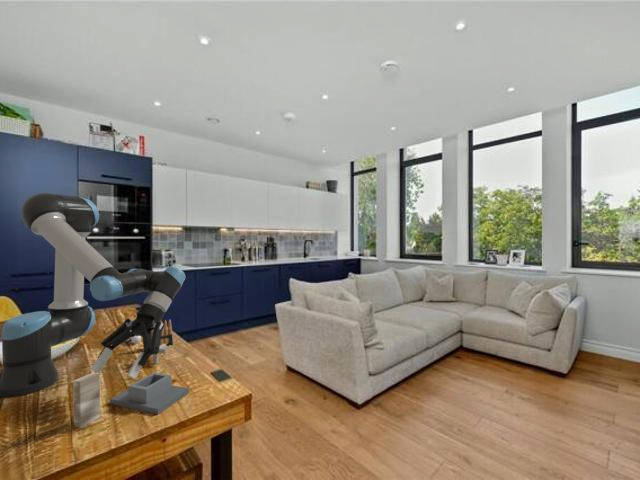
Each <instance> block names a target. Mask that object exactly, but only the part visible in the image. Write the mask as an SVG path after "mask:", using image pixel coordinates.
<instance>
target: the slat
mask: <svg viewBox="0 0 640 480" xmlns="http://www.w3.org/2000/svg"><path fill="white" fill-rule="evenodd" d="M72 384H73V390H72V391H73V392H72V393H73V426H74V427H75V428H78V427H79V428H80V429H82V428H85V426H88V425H89V424H91V423H92V422H94V421H96V420H98V419H99V418H101V395H100V393H101V390H100V384H101V383H100V373H97V372H91V373H89V374H86V375H84V376H81V377H79V378H77V379H75V380H73V381H72Z"/></svg>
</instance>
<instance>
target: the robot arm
mask: <svg viewBox="0 0 640 480" xmlns="http://www.w3.org/2000/svg"><path fill="white" fill-rule="evenodd" d="M20 215H21V216H20V217H21V219H22V221H23V223H24V225H26V227H27V228H28V229H29V230H30V231H31V232H32V233H33V234H35V235H38V236H42V237H43V238H44V240H46V241H47V242H48V243H49V244H50V245H51V246H52V247H53V248H54V249H55V253H54V259H55V261H54V287H53V288H54V289H53V290H54V291H53V302H51V303H50V304H49V305H48V306H47V311H46V310H39V311H33V312H26V313H23V314H20V315H17V316H14V317H11V318H9V319H7V320H6V321H5V322H4V323H3V324H2V329H1V335H0V338H1V344H2V345H1V351H2V353H1V355H2V356H1V357H2V369H1V372H0V396H2V397H1V398H12V397H19V396H25V395H27V394H32V393H35V392H37V391H40V390H41V391H42V390H43V389H45V388H48V387H51V386H52V385H53V384H55V383H57V382H58V380H59V370H58V369H57V366H56V364H55V362H54V360H53V358H52V347H55V346H57V345H60V344H63V343H66V342H69V341H72V340H75V339H78V338H81V337H83V336H86V334H88V333H89V332H90V331H91V330H92V329H93V328H94V326H95V323H96V313H95V311H93V308H92V307H91V306H89V302H88V301H87V300H85V299H84V294H85V293H84V291H85V290H84V289H85V279H86V280H87V281H89V283H90V285H89V291H90V292H91V296H92V297H93V299H95V300H97V301H99V302H105V301H110V300H111V301H112V300H116V299H119V298H122V297H126V296H131V295H135V294H139V293H142V292H144V293H148V295H147V297H145V300H144V301H143V304H141V306H140V307H139V309H138V310H137V312H136V318H135V319H133V320H131V319H130V318H126V319H125V320H124V321H123V323H122V324H121V325H119V326H118V327H117V329H116V330H114V331H113V332H112V333H111V334H110V335H108V336H107V337H106V338H105V339H104V340H102V341H101V343H100V344H101V346H103V349H102V350H101V352H100V353H99V355H98V357H97V359H96V361H94V364H93V365H92V366H91V368H90V370H92V371H94V373H98V374H100V373H101V371H102V370H103V369H104V367H105V365H106V364H107V362H108V360H109V359H110V358H111V356H112V355H113V353H114V352H115V351H114V349H116V348H117V347H119V346H120V345H122V344H123V343H124V342H127V341H126V340H127V339H129V338H130V337H134V336H141V338H142V346H143V348H144V351H143V348H142V351H140V353H138V356H137V358H136V359H135V361H134V362H133V364H132V366H131V367H130V369H129V370H128V372H127V374H126V376H128V377H130V378H132V379H135V380H136V379H137V377H138V375H139V373H140V371H141V370H142V368H143V367H145V365H146V364H147V362H148V361H149V359H150V357H151V356H153V355H152V354H158V355H159V354H160V353H159V347H160V340H161V333H162V330H163V331H164V323H163V322H162V323H163V324H162V323H161V322H160V321H162V319H163V318H164V316H165V313H166V312H167V311H168V309H169V308H170V305H171V304H172V302H173V301H174V299H175V296H176V295H177V294H178V292H179V291H180V290H181V288H182V286H183V285H184V284H183V283H184V282H185V280H186V274H185V272H184V271H183V270H182V269H180V268H178V267H176V266H168V267H166V268H165V270H164V271H163V272H161V271H154V270H147V269H143V268H131V269H129V270H128V271H126V272H123V273H121V272H119V270H118V269H116V268H115V267H114V266H113V264H111V263H110V262H109V261H108V260H107V259H105V258H104V256H102V254H100V253H99V252H98V251H97V250H96V249H95V247H93V246H92V245H91V244H90V243H89V242H88V241H87V240H86V238H87V237H88V236H89V235H90V234H91V233H92V232H91V231H92V228H94V227H95V226H96V225H97V224H99V223H98V222H99V219H100V213H99V209H98V207H97V205H96V204H95V203H93V201H92V200H90V199H88V198H85V197H80V196H75V195H66V194H56V193H49V192H42V193H41V192H40V193H37V194H34V195H32V196H29V197H28V198H27V199H26V200H25V201H24V202H23V204H22V206H21V208H20ZM130 330H131V331H130ZM152 330H153V335H152V333H151V331H152ZM151 337H152V341H151Z"/></svg>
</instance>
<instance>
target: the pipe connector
mask: <svg viewBox="0 0 640 480" xmlns="http://www.w3.org/2000/svg"><path fill="white" fill-rule="evenodd" d="M142 350H143V351H144V348H142ZM143 351H142V352H143ZM167 353H169V348H167V347H166V344H162V345H160V347H159V353H158V354H152V355H151V356H152V364H153V365H155V364H156V365H157V364H159V354H167Z"/></svg>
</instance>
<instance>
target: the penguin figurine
mask: <svg viewBox="0 0 640 480" xmlns="http://www.w3.org/2000/svg"><path fill="white" fill-rule="evenodd" d="M130 331H131V330H130ZM129 340H131V341H129ZM141 340H142V337H141V336H134V337H130V338H129V339H127V340H126V341H125V342H128V341H129V342H130V343H131V344H135V345H137V344H138V343H140V342H141Z"/></svg>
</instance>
